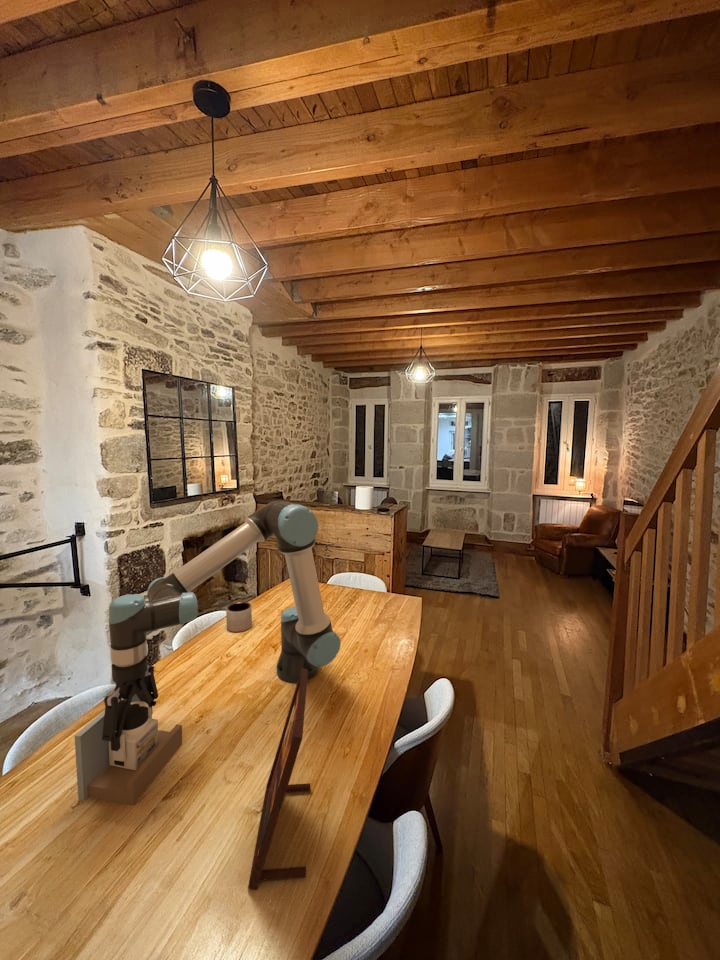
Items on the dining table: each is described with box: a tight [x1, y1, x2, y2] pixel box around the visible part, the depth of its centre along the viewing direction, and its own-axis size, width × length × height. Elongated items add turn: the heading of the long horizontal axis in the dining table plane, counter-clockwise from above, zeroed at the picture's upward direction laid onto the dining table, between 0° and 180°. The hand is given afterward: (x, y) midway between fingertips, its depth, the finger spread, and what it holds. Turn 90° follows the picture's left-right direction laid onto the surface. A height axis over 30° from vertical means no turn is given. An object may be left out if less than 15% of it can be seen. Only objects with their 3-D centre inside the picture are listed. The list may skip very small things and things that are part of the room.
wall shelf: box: [74, 694, 183, 806], centre depth 95 cm, size 13×20×16 cm, turn 171°
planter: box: [225, 601, 253, 633], centre depth 169 cm, size 11×11×10 cm
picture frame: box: [247, 668, 312, 891], centre depth 79 cm, size 21×11×30 cm, turn 5°
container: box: [109, 701, 159, 770], centre depth 95 cm, size 8×8×13 cm
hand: (133, 744), depth 95 cm, fingers open, 9 cm apart
